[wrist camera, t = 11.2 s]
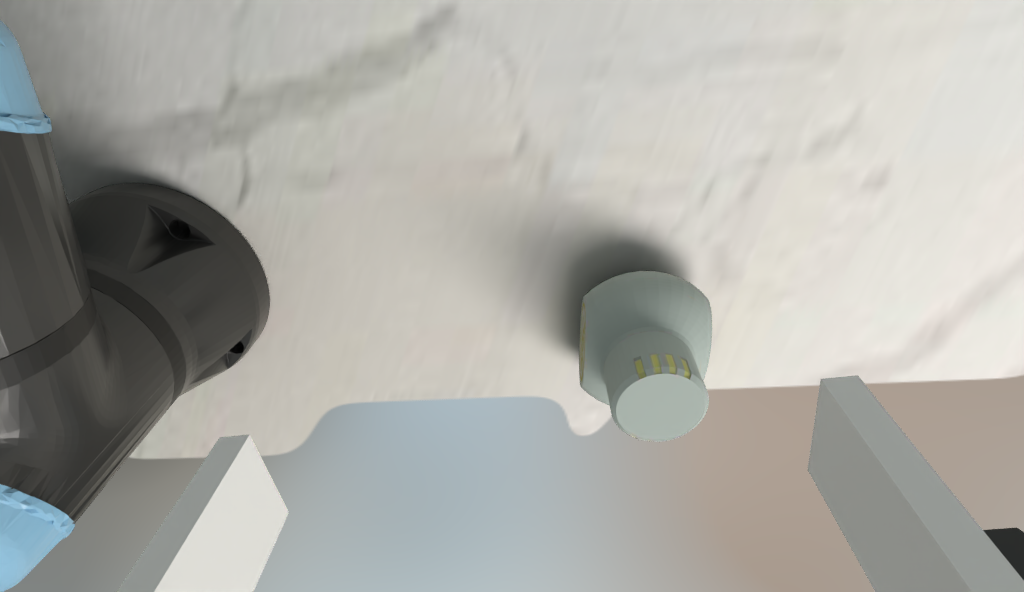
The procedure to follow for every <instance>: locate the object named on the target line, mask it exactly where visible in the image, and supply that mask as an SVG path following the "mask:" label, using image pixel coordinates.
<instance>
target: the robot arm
mask: <svg viewBox="0 0 1024 592" xmlns="http://www.w3.org/2000/svg"><path fill="white" fill-rule="evenodd" d="M51 131H52V128H51V121H50V118H49V117H48V116H47V115H46V114H45V113H43V112H42V110H41V107H40V104H39V101H38V98H37V95H36V93H35V90H34V87H33V84H32V81H31V78H30V75H29V72H28V69H27V67H26V64H25V61H24V58H23V55H22V52H21V49H20V47H19V45H18V43H17V41H16V38H15V37H14V35H13V34H12V32H11V31H10V30H9V28H8V27H7V26H6V25H5V24H4V23H3V22H2V21H1V20H0V592H4V591H5V590H7V589H9V588H11V587H13V586H14V585H16V584H17V583H19V582H20V581H21V580H22V579H23V578H24V577H25V576H26V575H27V574H28V573H29V572H30V571H31V570H32V569H33V568H34V567H35V566H36V565H37V564H38V563H39V562H40V561H41V560H42V559H43V558H44V557H45V556H46V555H47V553H48V552H49V551H50V550H51V549H52V548H53V547H54V546H55V545H56V544H57V543H58V542H59V541H60V540H61V539H64V538H66V537H67V536H68V535H69V534H70V533H71V532H72V531H73V529H74V526H75V522H76V521H77V520H78V519H79V518H80V516H81V515H82V514H83V513H84V511H85V510H86V509H87V508H88V506H89V505H90V504H91V503H92V501H93V500H94V499H95V498H96V497H97V495H98V494H99V493H100V492H101V490H102V489H103V488H104V487H105V485H106V484H107V483H108V482H109V480H110V479H111V478H112V477H113V476H114V474H115V473H116V472H117V471H118V469H119V468H120V467H121V466H122V465H123V463H124V462H125V461H126V460H127V458H128V457H129V456H130V455H131V453H132V452H133V451H134V450H135V449H136V447H137V446H138V445H139V444H140V443H141V441H142V440H143V439H144V438H145V437H146V435H147V434H148V433H149V432H150V430H151V429H152V428H153V427H154V426H155V424H156V423H157V422H158V421H159V420H160V418H161V417H162V416H163V415H164V414H165V412H166V411H167V410H168V408H169V407H170V406H171V405H172V404H173V402H174V401H175V400H176V399H177V398H178V397H179V396H180V395H182V394H184V393H186V392H188V391H189V390H191V389H193V388H195V387H197V386H198V385H200V384H202V383H204V382H206V381H207V380H209V379H211V378H213V377H215V376H216V375H218V374H220V373H222V372H224V371H225V370H227V369H229V368H230V367H232V366H233V365H235V364H236V363H237V362H238V361H239V360H240V359H241V358H242V357H243V356H244V355H245V354H246V353H247V352H248V351H249V349H250V348H251V347H252V345H253V344H254V343H255V341H256V340H257V339H258V337H259V336H260V334H261V333H262V331H263V329H264V327H265V324H266V322H267V318H268V314H269V306H270V296H269V289H268V284H267V280H266V276H265V274H264V271H263V269H262V266H261V264H260V262H259V260H258V258H257V256H256V255H255V253H254V252H253V250H252V248H251V247H250V246H249V244H248V243H247V242H246V240H245V239H244V238H243V237H242V236H241V234H240V233H239V232H238V231H237V230H236V229H235V228H234V227H233V226H232V225H231V224H230V223H229V222H227V221H226V220H225V219H224V218H223V217H221V216H220V215H219V214H218V213H216V212H215V211H213V210H212V209H210V208H209V207H207V206H206V205H204V204H202V203H201V202H199V201H197V200H195V199H193V198H191V197H189V196H187V195H185V194H182V193H179V192H177V191H174V190H171V189H168V188H164V187H160V186H155V185H150V184H141V183H124V184H116V185H110V186H106V187H103V188H100V189H98V190H95V191H93V192H91V193H89V194H87V195H85V196H83V197H81V198H79V199H77V200H75V201H73V202H71V203H70V204H68V202H67V199H66V195H65V192H64V188H63V185H62V181H61V178H60V174H59V170H58V167H57V163H56V160H55V156H54V152H53V149H52V145H51V141H50V137H49V133H48V132H51ZM808 471H809V473H810V474H811V477H812V478H813V480H814V482H815V483H816V486H817V487H818V489H819V491H820V493H821V495H822V496H823V498H824V500H825V502H826V504H827V505H828V507H829V509H830V511H831V513H832V515H833V516H834V518H835V520H836V522H837V524H838V525H839V527H840V529H841V531H842V533H843V534H844V536H845V538H846V540H847V542H848V543H849V545H850V547H851V549H852V551H853V552H854V554H855V556H856V558H857V560H858V561H859V563H860V565H861V567H862V568H863V570H864V572H865V574H866V576H867V578H868V579H869V581H870V583H871V585H872V587H873V588H874V590H875V592H1024V532H1022V531H1021V530H1020V529H1018V528H1007V529H992V530H982V528H981V527H980V526H979V525H978V524H977V522H976V521H975V520H974V518H973V517H972V516H971V515H970V514H969V512H968V511H967V510H966V509H965V507H964V506H963V505H962V504H961V502H960V501H959V500H958V499H957V498H956V496H955V495H954V494H953V493H952V491H951V490H950V489H949V488H948V486H947V485H946V484H945V483H944V481H943V480H942V479H941V478H940V476H939V475H938V474H937V473H936V471H935V470H934V469H933V468H932V467H931V465H930V464H929V463H928V462H927V460H926V459H925V458H924V457H923V455H922V454H921V453H920V452H919V451H918V449H917V448H916V447H915V446H914V444H913V443H912V442H911V441H910V439H909V438H908V437H907V436H906V434H905V433H904V432H903V431H902V429H901V428H900V427H899V426H898V425H897V423H896V422H895V421H894V420H893V418H892V417H891V416H890V415H889V414H888V412H887V411H886V410H885V409H884V407H883V406H882V405H881V404H880V402H879V401H878V400H877V399H876V397H875V396H874V395H873V394H872V392H871V391H870V390H869V389H868V387H867V386H866V385H865V384H864V383H863V381H862V380H861V379H860V378H859V376H848V377H837V378H827V379H821V381H820V388H819V395H818V402H817V409H816V416H815V423H814V429H813V436H812V444H811V450H810V458H809V465H808ZM288 513H289V512H288V510H287V508H286V506H285V504H284V502H283V500H282V498H281V496H280V494H279V492H278V490H277V488H276V486H275V484H274V482H273V480H272V478H271V476H270V474H269V473H268V470H267V468H266V466H265V464H264V462H263V460H262V458H261V456H260V454H259V452H258V450H257V448H256V446H255V444H254V442H253V440H252V438H251V436H250V435H241V436H231V437H221V438H219V439H218V441H217V442H216V444H215V445H214V447H213V448H212V450H211V451H210V453H209V454H208V456H207V457H206V459H205V460H204V462H203V463H202V465H201V467H200V468H199V469H198V471H197V472H196V474H195V475H194V477H193V478H192V480H191V481H190V483H189V485H188V486H187V487H186V489H185V490H184V492H183V493H182V495H181V496H180V498H179V499H178V501H177V503H176V504H175V505H174V507H173V509H172V510H171V511H170V513H169V514H168V516H167V517H166V519H165V520H164V522H163V523H162V525H161V526H160V528H159V529H158V531H157V532H156V534H155V535H154V537H153V538H152V540H151V541H150V543H149V544H148V546H147V547H146V549H145V550H144V552H143V553H142V555H141V556H140V558H139V559H138V561H137V562H136V564H135V565H134V567H133V568H132V570H131V571H130V573H129V574H128V576H127V577H126V579H125V580H124V582H123V583H122V585H121V586H120V587H119V589H118V591H117V592H253V591H254V589H255V587H256V585H257V582H258V580H259V578H260V576H261V574H262V571H263V569H264V567H265V565H266V562H267V560H268V558H269V556H270V554H271V551H272V549H273V547H274V545H275V542H276V540H277V538H278V536H279V533H280V531H281V529H282V527H283V525H284V522H285V520H286V518H287V516H288Z"/></svg>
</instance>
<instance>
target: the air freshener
mask: <svg viewBox="0 0 1024 592" xmlns="http://www.w3.org/2000/svg"><path fill="white" fill-rule="evenodd" d="M711 338H712V314H711V307H710V303H709V300H708V299H707V297H706V296H705V295H704V294H703V293H702V292H701V291H700V290H699V289H697V288H696V287H695V286H693V285H692V284H691V283H689V282H687V281H685V280H683V279H681V278H679V277H677V276H674V275H671V274H667V273H663V272H656V271H636V272H629V273H625V274H621V275H618V276H615V277H612V278H610V279H608V280H606V281H604V282H602V283H600V284H599V285H597V286H596V287H594V288H593V289H591V290H590V291H589V292H588V293H587V294H586V295H585V296H584V297H583V301H582V309H581V321H580V342H579V374H580V385H581V388H583V389H584V390H585V391H586V392H587V393H588V394H589V395H591V396H592V397H594V398H595V399H597V400H599V401H601V402H603V403H605V404H607V405H610V409H611V413H612V417H613V419H614V421H615V423H616V425H617V426H618V427H619V428H620V429H621V430H622V431H623V432H625V433H626V434H628V435H629V436H633V437H635V438H637V439H640V440H645V441H657V442H658V441H667V440H672V439H675V438H678V437H680V436H682V435H684V434H686V433H688V432H689V431H691V430H692V429H693V428H695V427H696V426H697V425H698V424H699V423H700V421H701V420H702V419H703V417H704V416H705V414H706V411H707V408H708V403H709V397H708V392H707V389H706V387H705V384H704V382H703V380H704V377H705V374H706V371H707V367H708V362H709V356H710V349H711Z"/></svg>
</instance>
